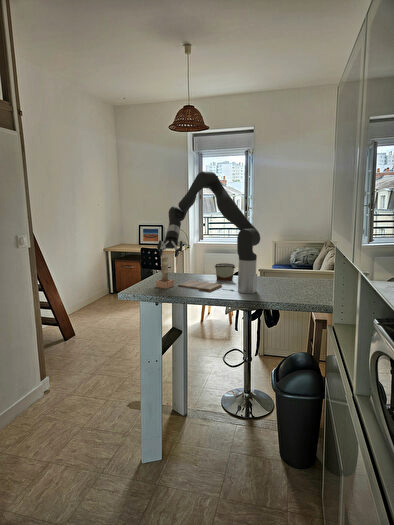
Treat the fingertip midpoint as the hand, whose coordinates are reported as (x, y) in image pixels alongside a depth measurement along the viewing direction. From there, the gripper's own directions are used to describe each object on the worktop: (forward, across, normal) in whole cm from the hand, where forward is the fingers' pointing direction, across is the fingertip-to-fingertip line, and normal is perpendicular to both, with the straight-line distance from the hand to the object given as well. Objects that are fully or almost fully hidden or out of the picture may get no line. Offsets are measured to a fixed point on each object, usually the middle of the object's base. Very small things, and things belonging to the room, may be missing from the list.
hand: (168, 256), depth 199 cm
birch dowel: (+16, 0, +6) cm, 17 cm away
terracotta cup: (+17, 0, +6) cm, 18 cm away
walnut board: (+13, +19, +10) cm, 25 cm away
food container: (-2, +31, +25) cm, 40 cm away
